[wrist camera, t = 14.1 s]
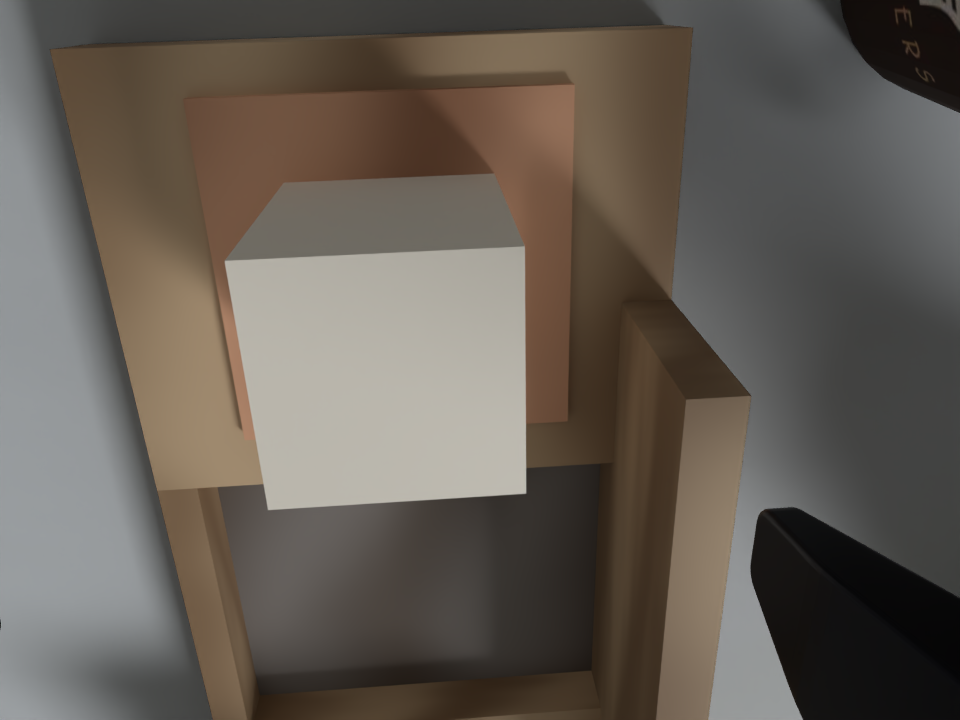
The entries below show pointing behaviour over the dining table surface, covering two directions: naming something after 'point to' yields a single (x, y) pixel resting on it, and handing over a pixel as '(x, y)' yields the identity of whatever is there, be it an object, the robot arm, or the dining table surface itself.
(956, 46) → the coffee mug
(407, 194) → the cream block
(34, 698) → the dining table surface
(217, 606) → the puzzle board
